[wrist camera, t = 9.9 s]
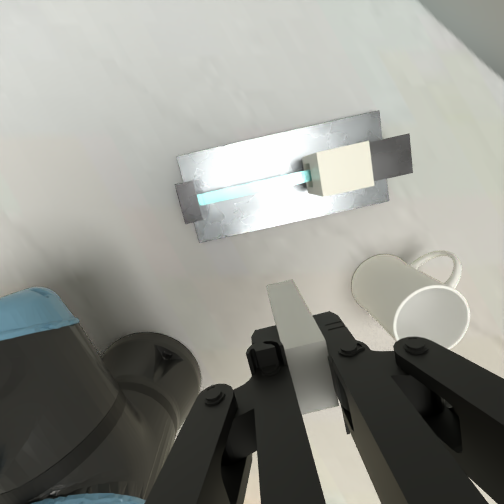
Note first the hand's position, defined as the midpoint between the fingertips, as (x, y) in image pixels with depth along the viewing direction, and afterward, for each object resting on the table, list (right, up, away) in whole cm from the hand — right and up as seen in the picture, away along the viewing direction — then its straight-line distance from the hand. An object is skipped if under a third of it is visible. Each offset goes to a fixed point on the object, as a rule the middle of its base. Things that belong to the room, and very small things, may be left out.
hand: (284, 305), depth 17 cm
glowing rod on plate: (+2, +12, +23) cm, 26 cm away
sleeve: (+7, +12, +19) cm, 24 cm away
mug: (+17, 0, +26) cm, 32 cm away
